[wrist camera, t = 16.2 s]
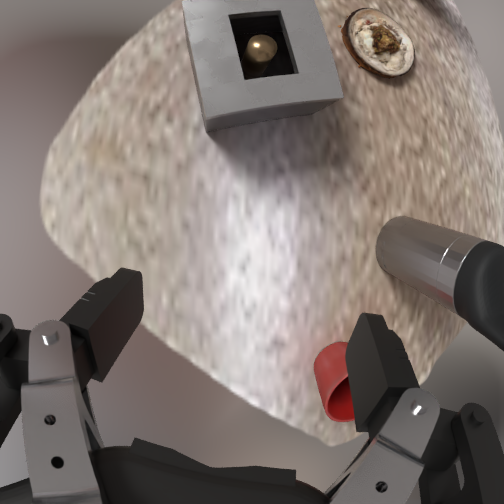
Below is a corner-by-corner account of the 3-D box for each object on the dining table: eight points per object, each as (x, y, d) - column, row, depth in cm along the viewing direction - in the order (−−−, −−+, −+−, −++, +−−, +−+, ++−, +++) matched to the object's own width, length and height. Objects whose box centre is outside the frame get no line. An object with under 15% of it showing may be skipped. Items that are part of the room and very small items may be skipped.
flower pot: (374, 341, 47) (404, 372, 38) (341, 390, 49) (362, 425, 39) (327, 324, 45) (354, 357, 35) (292, 378, 46) (310, 418, 37)
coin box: (287, 25, 33) (310, -10, 23) (311, 114, 36) (343, 97, 27) (186, 38, 31) (181, 1, 22) (206, 132, 35) (206, 117, 26)
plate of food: (368, -5, 32) (380, -15, 28) (426, 61, 37) (441, 56, 33) (312, 28, 34) (323, 17, 30) (380, 104, 38) (396, 99, 34)
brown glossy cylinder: (264, 68, 34) (281, 41, 25) (256, 87, 35) (271, 62, 26) (242, 60, 33) (253, 30, 24) (234, 79, 34) (243, 52, 25)
